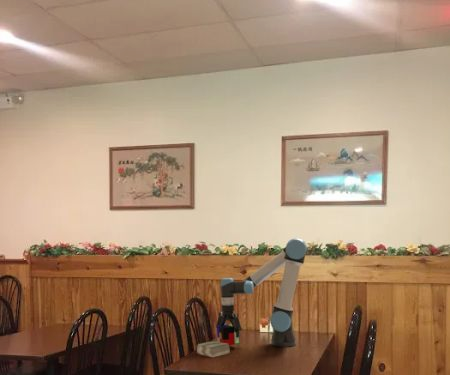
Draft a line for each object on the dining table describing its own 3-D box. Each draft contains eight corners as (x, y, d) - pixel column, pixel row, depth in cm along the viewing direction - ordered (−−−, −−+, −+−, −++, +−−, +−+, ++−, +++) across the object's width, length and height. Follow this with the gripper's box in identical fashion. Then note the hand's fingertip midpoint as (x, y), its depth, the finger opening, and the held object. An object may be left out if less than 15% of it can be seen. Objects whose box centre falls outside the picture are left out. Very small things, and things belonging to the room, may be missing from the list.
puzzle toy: (217, 342, 280) (217, 325, 282) (233, 341, 284) (232, 324, 286) (223, 345, 271) (223, 328, 273) (239, 343, 275) (239, 326, 276)
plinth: (229, 352, 265) (229, 343, 266) (212, 357, 256) (212, 347, 257) (213, 349, 274) (213, 340, 275) (197, 353, 265) (196, 344, 266)
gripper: (209, 303, 287) (210, 340, 284) (237, 306, 269) (239, 345, 267) (218, 302, 292) (219, 338, 289) (246, 305, 275) (248, 343, 272)
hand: (229, 341), depth 278 cm, fingers closed on puzzle toy, 12 cm apart
